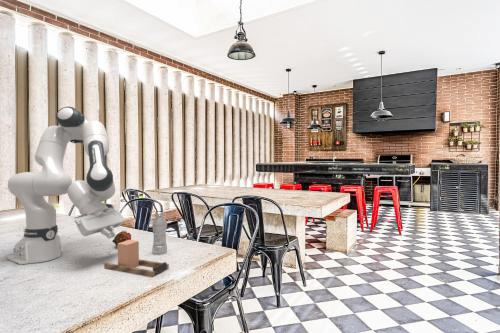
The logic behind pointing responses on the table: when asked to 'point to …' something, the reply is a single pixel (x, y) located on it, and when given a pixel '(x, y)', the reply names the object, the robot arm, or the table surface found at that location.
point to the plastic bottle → (159, 233)
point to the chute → (156, 270)
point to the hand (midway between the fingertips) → (112, 236)
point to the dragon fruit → (121, 237)
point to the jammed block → (128, 253)
